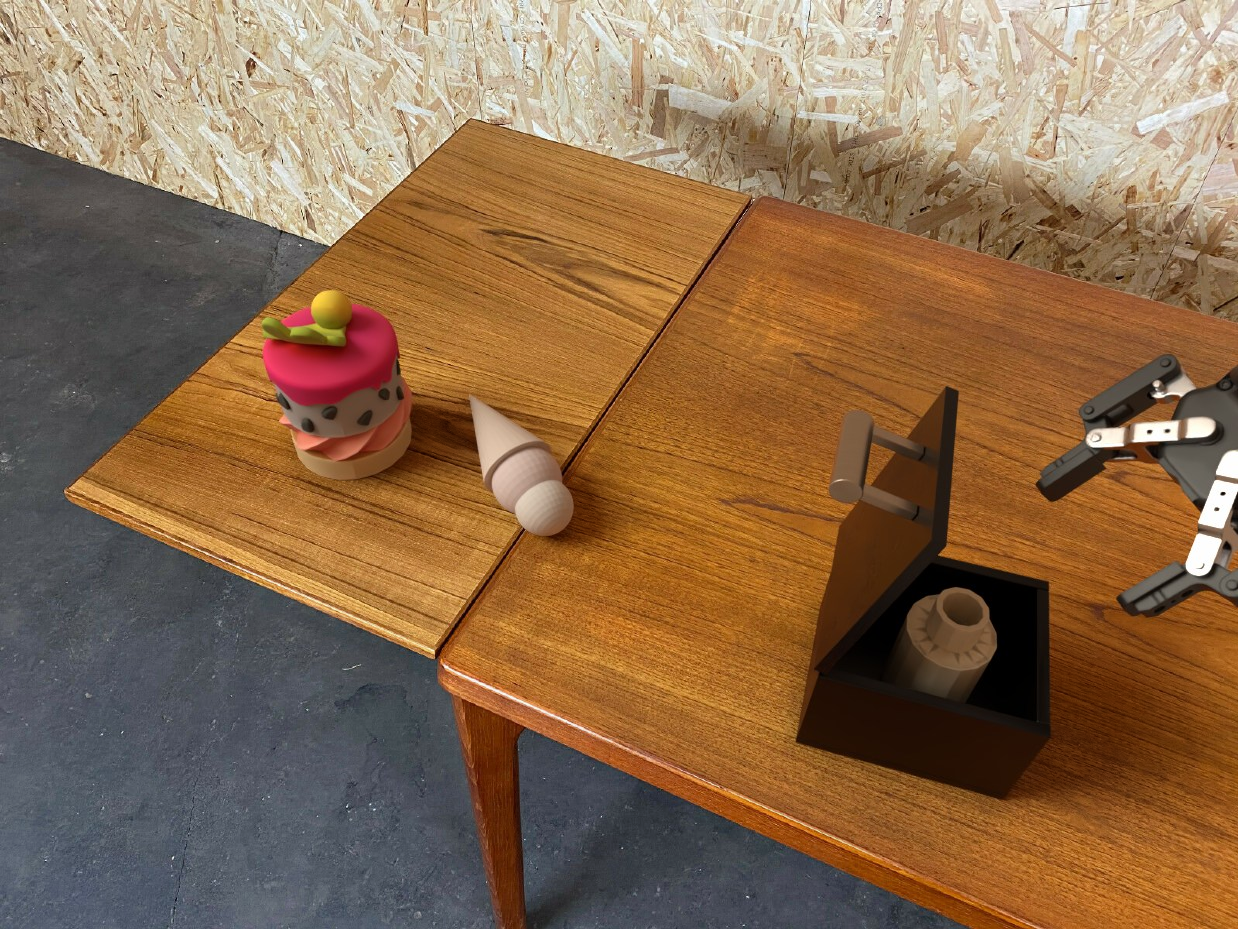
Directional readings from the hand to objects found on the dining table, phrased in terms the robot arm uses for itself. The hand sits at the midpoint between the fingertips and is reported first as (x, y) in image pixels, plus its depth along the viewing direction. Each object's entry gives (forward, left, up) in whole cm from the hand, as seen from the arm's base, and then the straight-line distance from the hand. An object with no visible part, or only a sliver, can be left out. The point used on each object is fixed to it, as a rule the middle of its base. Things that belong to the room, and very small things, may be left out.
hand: (1081, 548), depth 56 cm
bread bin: (+6, +3, -16) cm, 17 cm away
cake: (+54, -8, -16) cm, 57 cm away
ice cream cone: (+39, -7, -16) cm, 43 cm away
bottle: (+5, +2, -15) cm, 16 cm away
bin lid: (+11, +3, 0) cm, 11 cm away
